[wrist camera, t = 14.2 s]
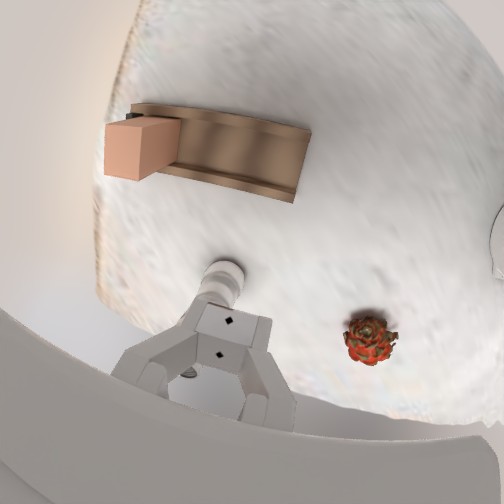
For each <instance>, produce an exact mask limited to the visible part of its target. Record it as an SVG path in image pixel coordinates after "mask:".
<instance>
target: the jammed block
mask: <svg viewBox="0 0 504 504" xmlns="http://www.w3.org/2000/svg"><path fill="white" fill-rule="evenodd" d="M181 120H182V119H180V118H172V117H163V116H153V115H148V116H142V117H137V118H132V119H127V120H123V121H118V122H114V123H109V124H106V127H105V147H104V175H109V176H114V177H119V178H125V179H130V180H135V181H140V180H142V179H144V178H145V177H147V176H149V175H151V174H152V173H154V172H156V171H158V170H160V169H161V168H163V167H165V166H167V165H169V164H171V163H173V162H174V161H176V160H177V151H178V143H179V135H180V127H181Z"/></svg>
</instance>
